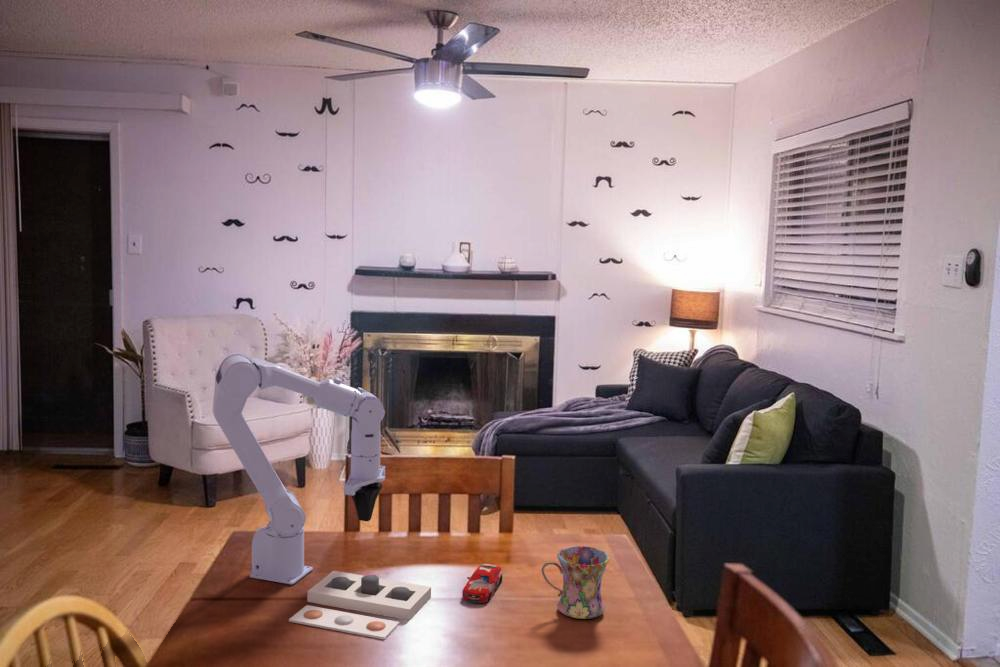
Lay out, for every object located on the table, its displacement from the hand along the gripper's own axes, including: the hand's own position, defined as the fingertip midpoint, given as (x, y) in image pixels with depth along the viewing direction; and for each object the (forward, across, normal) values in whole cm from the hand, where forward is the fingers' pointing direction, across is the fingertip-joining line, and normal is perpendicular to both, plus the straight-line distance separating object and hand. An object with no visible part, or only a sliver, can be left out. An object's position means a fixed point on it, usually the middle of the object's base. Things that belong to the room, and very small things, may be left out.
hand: (364, 519), depth 176 cm
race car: (+10, -2, -26) cm, 28 cm away
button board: (+9, -14, -8) cm, 19 cm away
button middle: (+8, -14, -8) cm, 18 cm away
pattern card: (+9, -24, -8) cm, 27 cm away
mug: (+10, -5, -44) cm, 45 cm away
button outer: (+9, -14, -14) cm, 22 cm away
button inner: (+9, -14, -2) cm, 17 cm away
